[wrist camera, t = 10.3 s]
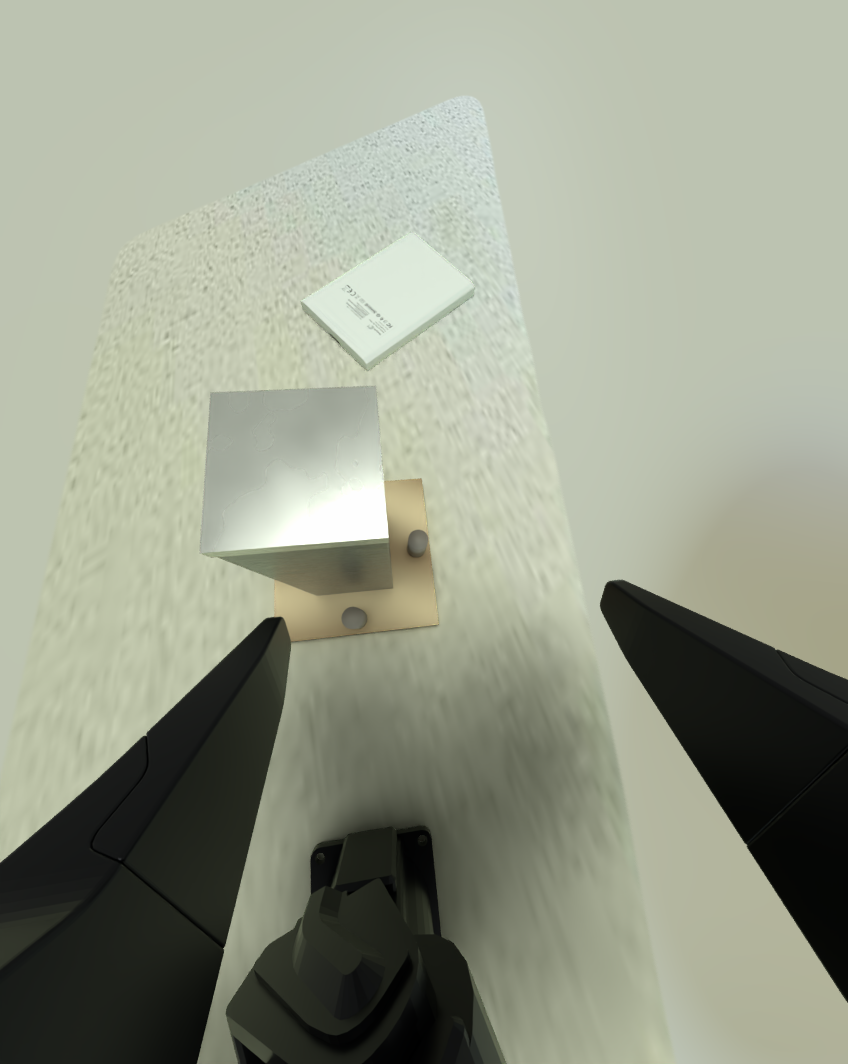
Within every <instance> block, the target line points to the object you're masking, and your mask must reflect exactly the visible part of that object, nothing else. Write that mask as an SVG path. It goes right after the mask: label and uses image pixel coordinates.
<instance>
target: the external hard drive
mask: <svg viewBox="0 0 848 1064" xmlns="http://www.w3.org/2000/svg"><path fill="white" fill-rule="evenodd" d="M474 290H475V285H474V284H473V282H472V281H471V280H470V279H469V278H467V277H466V276H465V275H464V274H463V273H462V272H460V271H459V270H458V269H457V268H456V267H454V266H453V265H452V264H451V263H450V262H449V261H447V260H446V259H445V258H444V257H443V256H441V255H440V254H439V253H438V252H437V251H436V250H435V249H433V248H432V247H431V246H430V245H429V244H428V243H426V242H425V241H424V240H423V239H422V238H420V237H419V236H418V235H417V234H415V233H414V232H410V233H408V234H407V235H405V236H404V237H402V238H400V239H399V240H397V241H396V242H394V243H392V244H391V245H389V246H388V247H386V248H384V249H383V250H381V251H380V252H378V253H376V254H375V255H373V256H372V257H370V258H368V259H367V260H365V261H364V262H362V263H360V264H359V265H357V266H356V267H354V268H352V269H351V270H349V271H348V272H346V273H344V274H343V275H341V276H340V277H338V278H336V279H335V280H333V281H332V282H330V283H328V284H327V285H325V286H324V287H322V288H321V289H319V290H317V291H316V292H314V293H313V294H311V295H309V296H308V297H306V298H304V299H303V300H301V301H300V302H301V305H302V308H303V310H304V311H305V312H306V313H307V314H308V315H310V316H311V317H312V318H313V319H314V320H315V321H316V322H317V323H318V324H319V325H320V326H321V327H322V328H323V329H324V330H325V331H326V332H327V333H328V334H331V335H332V336H334V337H335V338H336V339H337V340H338V341H339V343H340V345H341V346H342V347H343V348H344V349H345V350H346V351H347V352H348V353H349V354H350V355H351V356H352V357H353V358H354V359H355V360H356V361H357V362H358V363H359V364H360V365H361V366H362V367H363V368H365V369H366V370H367V371H368V370H370V369H371V368H372V367H374V366H375V365H377V364H378V363H379V362H381V361H382V360H384V359H385V358H387V357H388V356H389V355H391V354H392V353H394V352H395V351H396V350H398V349H399V348H401V347H402V346H403V345H405V344H406V343H408V342H409V341H410V340H412V339H413V338H415V337H416V336H417V335H419V334H420V333H422V332H423V331H424V330H426V329H427V328H429V327H430V326H431V325H433V324H434V323H436V322H437V321H438V320H440V319H441V318H443V317H444V316H446V315H447V314H448V313H450V312H451V311H452V310H454V309H455V308H457V307H458V306H459V305H461V304H462V303H464V302H465V301H466V300H468V299H469V298H471V297H472V296H473V295H474Z"/></svg>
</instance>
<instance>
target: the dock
mask: <svg viewBox="0 0 848 1064" xmlns="http://www.w3.org/2000/svg"><path fill="white" fill-rule="evenodd" d="M384 487H385V497H386V507H387V517H388V529H389V541H390V554H391V566H392V578H393V588H392V589H382V590H372V591H361V592H351V593H341V594H331V595H320V596H316V595H313V594H311V593H308V592H305V591H303V590H300V589H298V588H295V587H293V586H290V585H287V584H285V583H282V582H280V581H277V580H275V613H274V617H283V618H284V620H285V623H286V626H287V629H288V632H289V636H290V639H291V642H293V641H302V640H310V639H319V638H327V637H336V636H345V635H353V634H362V633H371V632H379V631H388V630H397V629H405V628H414V627H422V626H431V625H439V622H438V613H437V605H436V596H435V588H434V580H433V571H432V563H431V554H430V546H429V537H428V529H427V520H426V512H425V504H424V495H423V487H422V479H408V480H395V481H384Z"/></svg>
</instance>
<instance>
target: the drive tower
mask: <svg viewBox="0 0 848 1064" xmlns="http://www.w3.org/2000/svg"><path fill="white" fill-rule="evenodd" d="M200 554H203V555H206V556H208V557H211V558H214V557H218V558H221V559H223V560H226V561H228V562H231V563H233V564H236V565H239V566H241V567H244V568H246V569H249V570H251V571H254V572H257V573H259V574H262V575H264V576H267V577H269V578H272V579H275V580H277V581H280V582H282V583H285V584H287V585H290V586H293V587H295V588H298V589H300V590H303V591H305V592H308V593H311V594H313V595H316V596H320V595H331V594H341V593H351V592H361V591H372V590H382V589H392V588H393V578H392V566H391V554H390V541H389V529H388V517H387V507H386V497H385V487H384V477H383V464H382V452H381V439H380V427H379V414H378V402H377V391H376V386H360V387H335V388H310V389H285V390H260V391H236V392H211V393H210V407H209V422H208V437H207V451H206V466H205V481H204V495H203V510H202V525H201V539H200Z"/></svg>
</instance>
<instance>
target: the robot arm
mask: <svg viewBox="0 0 848 1064" xmlns="http://www.w3.org/2000/svg"><path fill="white" fill-rule="evenodd" d="M600 608H601V611H602V613H603V615H604V617H605V619H606V621H607V623H608V625H609V627H610V629H611V631H612V633H613V635H614V637H615V639H616V641H617V642H618V645H619V647H620V649H621V650H622V652H623V654H624V656H625V658H626V659H627V661H628V663H629V664H630V666H631V668H632V669H633V671H634V672H635V674H636V675H637V677H638V678H639V680H640V681H641V683H642V684H643V686H644V688H645V689H646V691H647V692H648V694H649V695H650V697H651V699H652V700H653V702H654V703H655V705H656V706H657V708H658V709H659V711H660V713H661V714H662V715H663V717H664V719H665V720H666V722H667V723H668V725H669V727H670V728H671V730H672V731H673V733H674V734H675V736H676V737H677V739H678V740H679V742H680V744H681V745H682V747H683V748H684V750H685V751H686V753H687V754H688V756H689V758H690V759H691V761H692V762H693V764H694V765H695V767H696V768H697V770H698V772H699V773H700V774H701V776H702V777H703V779H704V781H705V782H706V784H707V785H708V787H709V789H710V790H711V792H712V793H713V795H714V796H715V798H716V799H717V801H718V803H719V804H720V806H721V807H722V809H723V810H724V812H725V813H726V815H727V816H728V818H729V820H730V821H731V823H732V824H733V826H734V827H735V829H736V830H737V832H738V834H739V835H740V837H741V838H742V840H743V841H744V843H745V844H747V848H748V849H749V851H750V853H751V854H752V856H753V857H754V859H755V860H756V862H757V863H758V865H759V866H760V868H761V870H762V871H763V872H764V874H765V876H766V877H767V879H768V881H769V882H770V884H771V885H772V887H773V888H774V890H775V891H776V893H777V895H778V896H779V898H780V899H781V901H782V902H783V904H784V905H785V907H786V908H787V910H788V912H789V913H790V915H791V916H792V917H793V919H794V921H795V922H796V924H797V926H798V927H799V929H800V930H801V932H802V933H803V935H804V936H805V938H806V939H807V941H808V943H809V944H810V946H811V947H812V949H813V950H814V952H815V954H816V955H817V957H818V958H819V960H820V961H821V963H822V964H823V966H824V967H825V969H826V971H827V972H828V974H829V975H830V977H831V978H832V980H833V981H834V983H835V985H836V986H837V988H838V989H839V991H840V992H841V994H842V995H843V997H844V998H845V1000H846V1001H847V1002H848V680H847V679H845V678H842V677H840V676H837V675H835V674H832V673H830V672H828V671H825V670H823V669H821V668H818V667H816V666H814V665H811V664H809V663H807V662H805V661H803V660H800V659H798V658H795V657H794V656H791V655H789V654H787V653H785V652H782V651H780V650H775V648H773V647H771V646H769V645H767V644H764V643H762V642H760V641H758V640H756V639H753V638H751V637H749V636H747V635H744V634H742V633H740V632H738V631H736V630H733V629H731V628H729V627H726V626H724V625H722V624H720V623H718V622H715V621H713V620H711V619H709V618H707V617H704V616H702V615H700V614H698V613H696V612H693V611H691V610H689V609H687V608H684V607H682V606H680V605H677V604H675V603H673V602H671V601H669V600H667V599H664V598H662V597H660V596H658V595H655V594H653V593H651V592H649V591H646V590H644V589H642V588H640V587H638V586H636V585H633V584H631V583H629V582H627V581H624V580H614V581H609V582H607V584H606V585H605V588H604V591H603V595H602V598H601V602H600ZM290 651H291V639H290V636H289V632H288V629H287V626H286V623H285V620H284V618H283V617H270V618H266V619H265V620H263V621H262V622H261V623H260V624H259V625H258V626H257V627H256V628H255V629H254V630H253V631H252V632H251V633H250V634H249V635H248V636H247V637H246V638H245V639H244V640H243V641H242V642H241V643H240V644H239V645H237V646H236V647H235V648H234V649H233V650H232V651H231V652H230V653H229V654H228V655H227V656H226V657H225V658H224V659H223V660H222V661H221V662H220V663H219V664H218V665H217V666H216V667H215V668H214V669H212V670H211V671H210V672H209V673H208V674H207V675H206V676H205V677H204V678H203V679H202V680H201V681H200V682H199V683H198V684H197V685H196V686H195V687H194V688H193V689H192V690H191V691H190V692H189V693H187V694H186V695H185V696H184V697H183V698H182V699H181V700H180V701H179V702H178V703H177V704H176V705H175V706H174V707H173V708H172V709H171V710H170V711H169V712H168V713H167V714H166V715H165V716H164V717H162V718H161V719H160V720H159V721H158V722H157V723H156V724H155V725H154V726H153V727H152V728H151V729H150V730H149V731H148V732H147V736H143V737H142V738H140V739H139V740H138V741H137V742H136V743H135V744H134V745H133V746H132V747H131V748H130V749H129V750H128V751H127V752H126V753H125V754H124V755H123V756H122V757H121V758H119V759H118V760H117V761H116V762H115V763H114V764H113V765H112V766H111V767H110V768H109V769H108V770H107V771H105V772H104V773H103V774H102V775H101V776H100V777H99V778H98V779H97V780H96V781H95V782H93V783H92V784H91V785H90V786H89V787H88V788H87V789H85V790H84V791H83V792H82V793H81V794H80V795H79V796H77V797H76V798H75V799H74V800H73V801H72V802H71V803H69V804H68V805H67V806H66V807H65V808H64V809H63V810H61V811H60V812H59V813H58V814H57V815H56V816H54V817H53V818H52V819H51V820H50V821H49V822H47V823H46V824H45V825H44V826H43V827H42V828H40V829H39V830H38V831H37V832H36V833H35V834H33V835H32V836H31V837H30V838H29V839H28V840H26V841H25V842H24V843H23V844H22V845H21V846H19V847H18V848H17V849H16V850H15V851H14V852H12V853H11V854H10V855H9V856H8V857H7V858H5V859H4V860H3V861H2V862H1V863H0V1064H197V1061H198V1057H199V1053H200V1048H201V1044H202V1040H203V1036H204V1032H205V1028H206V1024H207V1020H208V1015H209V1011H210V1007H211V1003H212V999H213V995H214V991H215V987H216V982H217V978H218V974H219V970H220V966H221V962H222V958H223V954H224V949H223V948H224V947H225V944H226V940H227V936H228V932H229V928H230V924H231V920H232V916H233V912H234V907H235V903H236V899H237V895H238V891H239V887H240V883H241V879H242V874H243V870H244V866H245V862H246V858H247V854H248V850H249V846H250V842H251V837H252V833H253V829H254V825H255V821H256V817H257V813H258V809H259V804H260V800H261V796H262V792H263V788H264V784H265V780H266V776H267V772H268V767H269V763H270V759H271V755H272V751H273V747H274V743H275V739H276V734H277V730H278V726H279V722H280V718H281V714H282V709H283V705H284V698H285V691H286V683H287V675H288V667H289V659H290ZM421 835H425V836H426V840H425V841H423V842H420V841H419V840H418V838H419V837H420V836H421ZM319 853H323V854H324V856H325V858H324V859H323V860H319V859H318V857H317V854H319ZM226 1017H227V1021H228V1025H229V1029H230V1033H231V1037H232V1041H233V1045H234V1049H235V1053H236V1057H237V1061H238V1064H506V1061H505V1059H504V1056H503V1054H502V1051H501V1049H500V1046H499V1043H498V1041H497V1038H496V1036H495V1033H494V1031H493V1028H492V1025H491V1023H490V1020H489V1018H488V1015H487V1013H486V1010H485V1008H484V1005H483V1002H482V1000H481V997H480V995H479V992H478V990H477V987H476V984H475V982H474V979H473V977H472V974H471V972H470V969H469V966H468V964H467V961H466V960H465V959H464V957H463V956H462V954H461V953H460V952H459V950H458V949H457V947H456V946H455V945H454V943H452V942H450V941H448V940H446V939H444V938H442V937H441V930H440V920H439V910H438V900H437V890H436V879H435V869H434V859H433V849H432V839H431V833H430V830H429V829H428V828H427V827H425V826H417V827H411V828H405V829H400V830H395V829H394V828H393V827H387V828H381V829H376V830H370V831H364V832H358V833H352V834H349V835H348V836H347V837H346V839H342V840H336V841H331V842H325V843H320V844H318V845H317V846H316V847H315V848H314V850H313V853H312V855H311V896H310V899H309V902H308V904H307V907H306V910H305V913H304V915H303V917H301V918H300V919H299V920H298V921H297V924H296V926H295V928H294V929H293V930H291V931H290V932H288V933H286V934H285V935H283V936H282V937H280V938H278V939H277V940H275V941H273V942H272V943H271V944H269V945H268V946H267V947H266V948H265V950H264V951H263V953H262V954H261V956H260V957H259V958H258V959H257V961H256V962H255V964H254V966H253V968H252V969H251V971H250V972H249V974H248V975H247V977H246V979H245V980H244V982H243V983H242V985H241V986H240V988H239V989H238V991H237V992H236V994H235V995H234V997H233V998H232V1000H231V1001H230V1003H229V1005H228V1007H227V1009H226Z"/></svg>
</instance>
